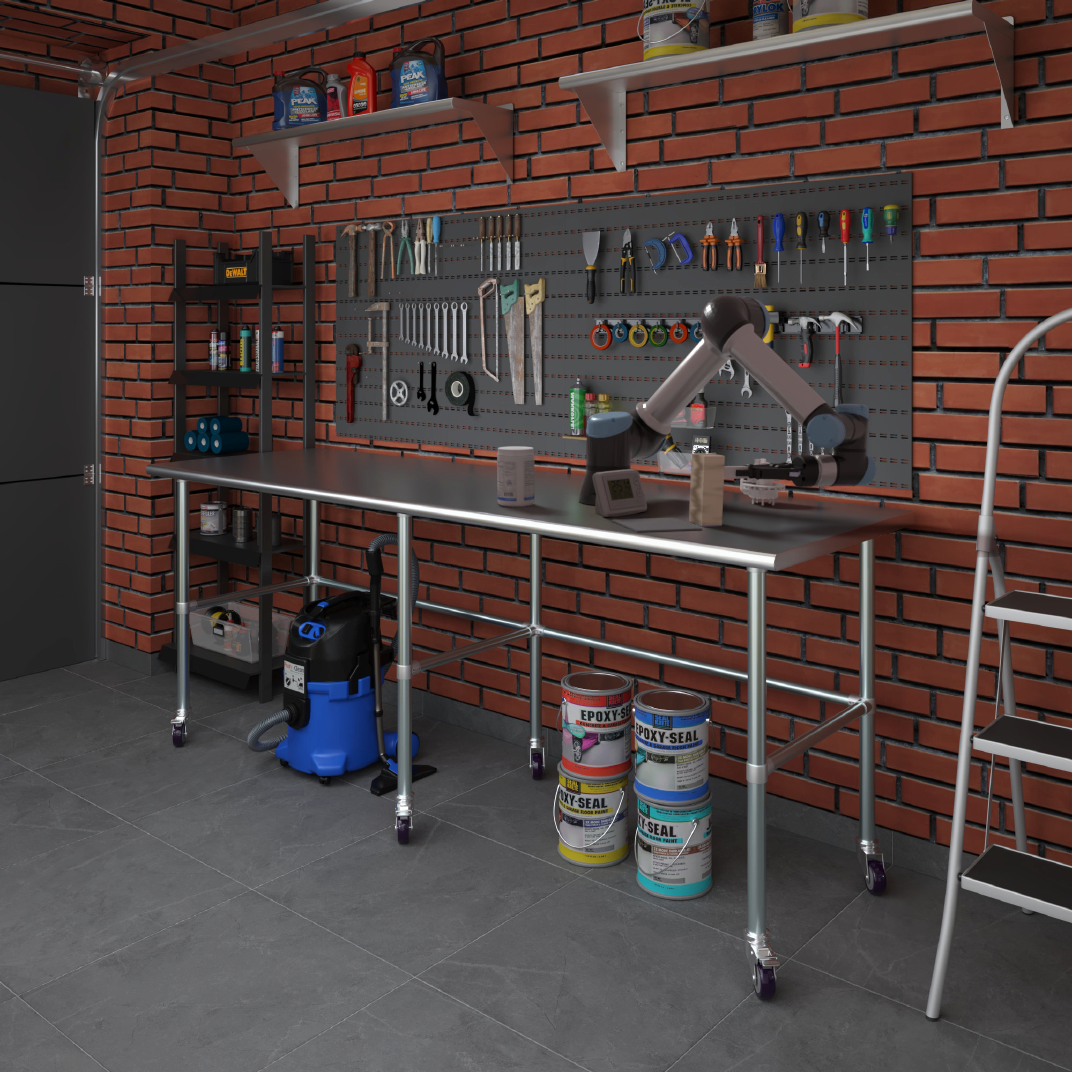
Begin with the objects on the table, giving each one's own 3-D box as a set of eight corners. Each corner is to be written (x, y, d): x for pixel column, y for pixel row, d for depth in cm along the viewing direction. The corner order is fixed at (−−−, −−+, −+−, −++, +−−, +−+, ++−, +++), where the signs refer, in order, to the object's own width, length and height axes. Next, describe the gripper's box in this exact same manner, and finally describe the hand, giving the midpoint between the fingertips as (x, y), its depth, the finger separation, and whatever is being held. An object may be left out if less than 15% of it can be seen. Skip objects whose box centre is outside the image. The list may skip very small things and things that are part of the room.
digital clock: (603, 519, 245) (604, 474, 244) (581, 514, 253) (581, 470, 251) (656, 514, 254) (657, 470, 252) (633, 509, 262) (634, 467, 260)
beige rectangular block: (688, 522, 242) (691, 453, 239) (708, 521, 243) (711, 453, 241) (701, 526, 235) (704, 456, 233) (721, 526, 237) (724, 456, 234)
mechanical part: (757, 507, 267) (759, 461, 265) (732, 501, 278) (734, 457, 276) (793, 506, 271) (796, 460, 269) (767, 500, 282) (769, 456, 280)
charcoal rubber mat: (611, 521, 241) (611, 519, 241) (673, 519, 246) (673, 517, 246) (636, 532, 226) (636, 530, 226) (701, 530, 231) (702, 528, 230)
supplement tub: (526, 501, 273) (527, 445, 270) (539, 506, 264) (540, 448, 262) (491, 503, 270) (492, 446, 267) (503, 508, 261) (504, 449, 258)
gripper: (826, 490, 239) (733, 492, 232) (797, 483, 251) (707, 485, 245) (828, 457, 237) (734, 458, 231) (798, 452, 250) (709, 453, 243)
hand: (720, 472), depth 238 cm, fingers closed
